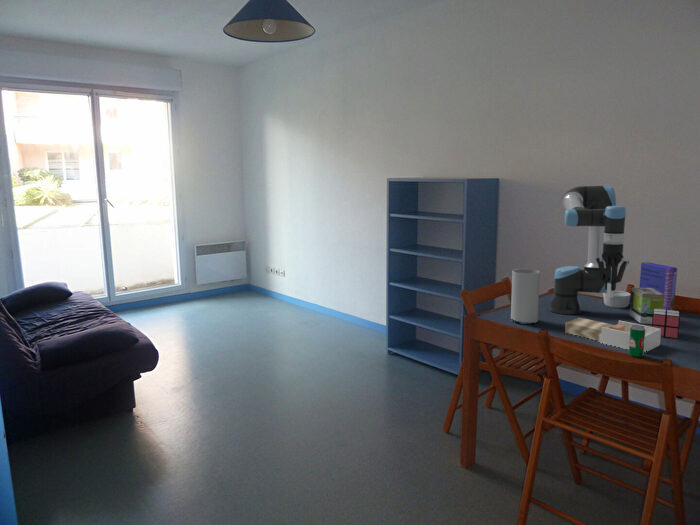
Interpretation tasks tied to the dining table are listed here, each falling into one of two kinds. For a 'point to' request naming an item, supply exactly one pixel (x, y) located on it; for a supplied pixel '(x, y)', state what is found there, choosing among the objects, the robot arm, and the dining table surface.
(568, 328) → the birch plate
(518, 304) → the cylinder vase
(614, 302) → the ramekin
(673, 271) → the cereal box
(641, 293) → the tea box
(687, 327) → the dining table surface
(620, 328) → the rear tile
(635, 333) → the soda can
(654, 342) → the box
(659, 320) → the puzzle cube
